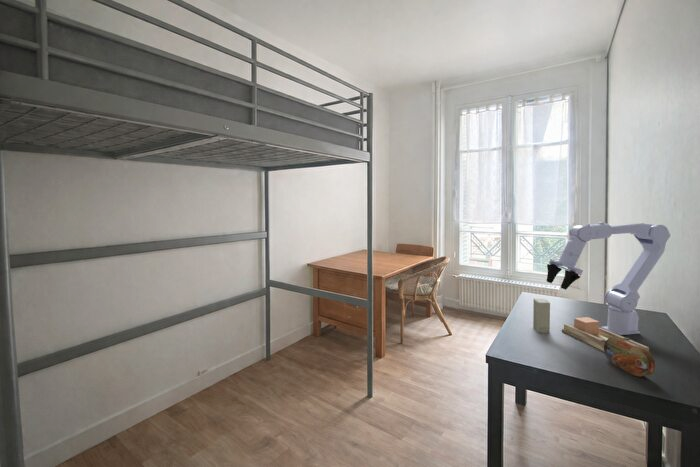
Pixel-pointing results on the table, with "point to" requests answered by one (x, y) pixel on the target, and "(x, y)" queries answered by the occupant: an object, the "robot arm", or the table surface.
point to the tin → (629, 357)
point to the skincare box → (541, 315)
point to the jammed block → (587, 325)
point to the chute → (596, 337)
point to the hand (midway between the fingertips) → (555, 285)
